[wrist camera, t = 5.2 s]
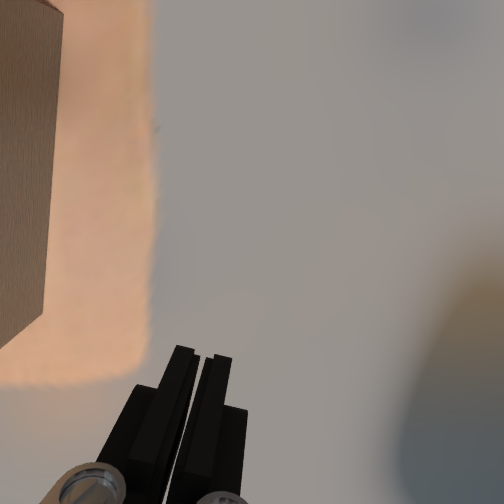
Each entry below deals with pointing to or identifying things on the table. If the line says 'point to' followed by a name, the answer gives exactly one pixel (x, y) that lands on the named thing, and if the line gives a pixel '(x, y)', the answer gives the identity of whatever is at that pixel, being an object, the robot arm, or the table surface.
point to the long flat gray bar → (26, 155)
